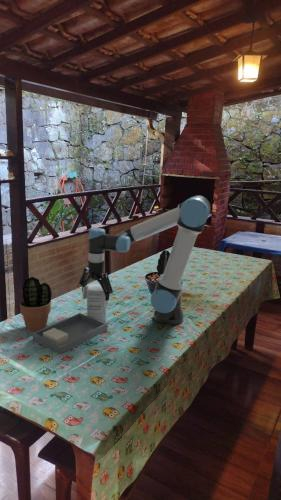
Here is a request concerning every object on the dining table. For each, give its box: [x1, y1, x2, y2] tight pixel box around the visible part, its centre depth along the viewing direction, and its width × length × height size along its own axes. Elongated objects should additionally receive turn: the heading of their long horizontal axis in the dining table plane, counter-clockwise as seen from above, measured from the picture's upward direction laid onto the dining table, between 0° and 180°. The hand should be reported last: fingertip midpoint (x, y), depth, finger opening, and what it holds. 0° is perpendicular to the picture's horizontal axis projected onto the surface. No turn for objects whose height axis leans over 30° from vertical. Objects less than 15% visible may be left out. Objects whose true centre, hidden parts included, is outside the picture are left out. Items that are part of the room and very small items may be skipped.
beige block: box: [43, 328, 68, 345], centre depth 156 cm, size 9×6×4 cm, turn 54°
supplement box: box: [86, 283, 107, 323], centre depth 180 cm, size 10×9×17 cm
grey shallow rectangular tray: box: [32, 312, 108, 354], centre depth 163 cm, size 18×28×4 cm, turn 144°
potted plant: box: [19, 276, 53, 332], centre depth 167 cm, size 14×14×25 cm
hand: (95, 302), depth 179 cm, fingers open, 13 cm apart
